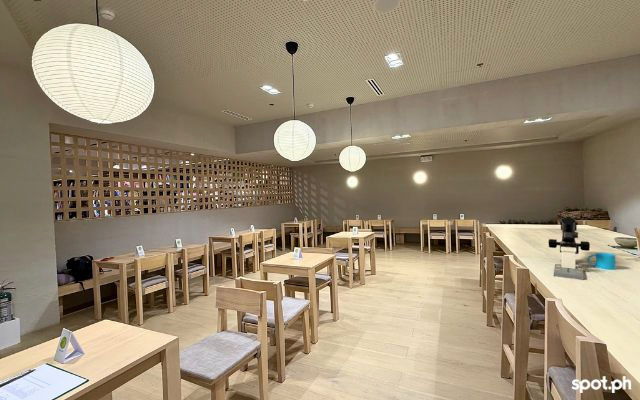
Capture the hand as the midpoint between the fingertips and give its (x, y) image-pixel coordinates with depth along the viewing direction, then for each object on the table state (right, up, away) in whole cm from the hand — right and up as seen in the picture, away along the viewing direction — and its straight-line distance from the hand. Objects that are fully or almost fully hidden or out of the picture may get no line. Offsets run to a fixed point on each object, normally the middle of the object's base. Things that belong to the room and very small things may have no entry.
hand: (568, 256), depth 170 cm
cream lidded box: (-3, -6, -3) cm, 7 cm away
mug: (+21, -7, +2) cm, 22 cm away
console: (-6, -8, -7) cm, 12 cm away
